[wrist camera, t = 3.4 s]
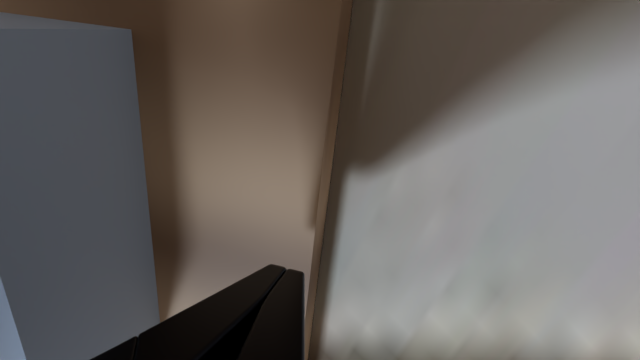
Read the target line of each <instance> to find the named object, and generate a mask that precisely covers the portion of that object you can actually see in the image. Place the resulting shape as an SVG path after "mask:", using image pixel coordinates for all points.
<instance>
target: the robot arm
mask: <svg viewBox="0 0 640 360" xmlns="http://www.w3.org/2000/svg"><path fill="white" fill-rule="evenodd" d="M90 360H305V275H304V273H303V272H302V271H298V270H294V269H286V267H283V266H279V265H275V264H269V265H267V266H265V267H264V268H262V269H260V270H258V271H256V272H254V273H252V274H250V275H249V276H247V277H245V278H243V279H241V280H239V281H237V282H235V283H234V284H232V285H230V286H228V287H226V288H224V289H222V290H220V291H219V292H217V293H215V294H213V295H211V296H209V297H207V298H205V299H204V300H202V301H200V302H198V303H196V304H194V305H192V306H190V307H189V308H187V309H185V310H183V311H181V312H179V313H177V314H175V315H174V316H172V317H170V318H168V319H166V320H164V321H162V322H161V323H159V324H157V325H155V326H153V327H151V328H149V329H147V330H146V331H144V332H142V333H140V334H139V335H138V337H137V336H134V337H132V338H130V339H128V340H127V341H125V342H123V343H121V344H119V345H117V346H115V347H113V348H111V349H109V350H107V351H105V352H103V353H101V354H99V355H97V356H96V357H94V358H92V359H90Z"/></svg>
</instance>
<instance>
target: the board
mask: <svg viewBox="0 0 640 360" xmlns="http://www.w3.org/2000/svg"><path fill="white" fill-rule="evenodd" d="M352 4H353V0H0V12H4V13H11V14H19V15H26V16H34V17H41V18H49V19H56V20H64V21H71V22H79V23H86V24H94V25H101V26H109V27H116V28H124V29H131V32H132V42H133V52H134V62H135V72H136V83H137V93H138V103H139V113H140V123H141V133H142V144H143V154H144V164H145V174H146V184H147V194H148V205H149V215H150V225H151V235H152V245H153V255H154V266H155V276H156V286H157V296H158V306H159V317H160V323H161V322H162V321H164V320H166V319H168V318H170V317H172V316H174V315H175V314H177V313H179V312H181V311H183V310H185V309H187V308H189V307H190V306H192V305H194V304H196V303H198V302H200V301H202V300H204V299H205V298H207V297H209V296H211V295H213V294H215V293H217V292H219V291H220V290H222V289H224V288H226V287H228V286H230V285H232V284H234V283H235V282H237V281H239V280H241V279H243V278H245V277H247V276H249V275H250V274H252V273H254V272H256V271H258V270H260V269H262V268H264V267H265V266H267V265H269V264H275V265H279V266H283V267H286V269H294V270H298V271H302V272H303V273H304V275H305V360H308V353H309V346H310V338H311V330H312V322H313V314H314V306H315V298H316V290H317V282H318V274H319V266H320V258H321V250H322V242H323V234H324V226H325V218H326V211H327V203H328V195H329V187H330V179H331V171H332V163H333V155H334V147H335V139H336V131H337V123H338V115H339V107H340V99H341V91H342V83H343V76H344V68H345V60H346V52H347V44H348V36H349V28H350V20H351V12H352Z"/></svg>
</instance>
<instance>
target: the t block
mask: <svg viewBox="0 0 640 360" xmlns="http://www.w3.org/2000/svg"><path fill="white" fill-rule="evenodd" d="M159 323H160V317H159V306H158V296H157V286H156V276H155V266H154V255H153V245H152V235H151V225H150V215H149V205H148V194H147V184H146V174H145V164H144V154H143V144H142V133H141V123H140V113H139V103H138V93H137V83H136V72H135V62H134V52H133V42H132V32H131V29H124V28H116V27H109V26H101V25H94V24H86V23H79V22H71V21H64V20H56V19H49V18H41V17H34V16H26V15H19V14H11V13H4V12H0V360H90V359H92V358H94V357H96V356H97V355H99V354H101V353H103V352H105V351H107V350H109V349H111V348H113V347H115V346H117V345H119V344H121V343H123V342H125V341H127V340H128V339H130V338H132V337H134V336H137V337H138V335H139V334H140V333H142V332H144V331H146V330H147V329H149V328H151V327H153V326H155V325H157V324H159Z"/></svg>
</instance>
